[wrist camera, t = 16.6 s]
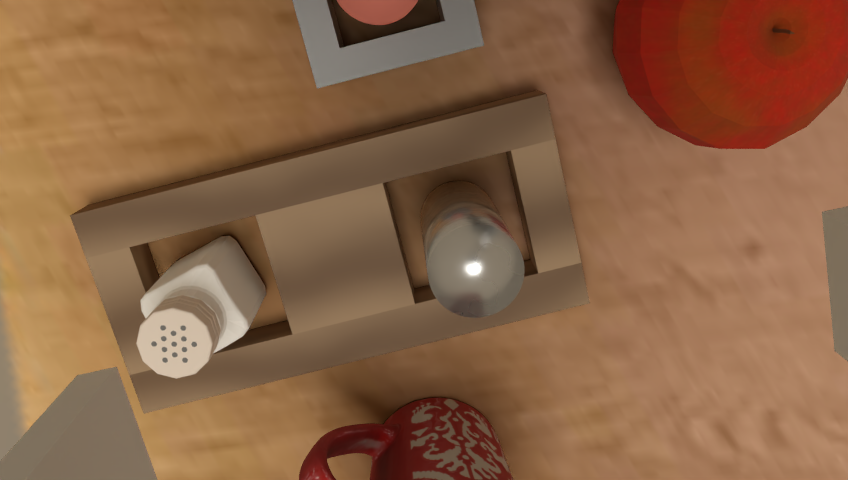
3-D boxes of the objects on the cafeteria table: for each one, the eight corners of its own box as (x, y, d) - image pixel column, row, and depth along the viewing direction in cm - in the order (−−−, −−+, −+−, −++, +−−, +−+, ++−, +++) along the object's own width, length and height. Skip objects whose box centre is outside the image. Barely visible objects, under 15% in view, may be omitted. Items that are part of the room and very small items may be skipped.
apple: (729, 160, 43) (846, 205, 32) (555, 88, 42) (614, 109, 31) (820, -27, 41) (981, -48, 30) (640, -109, 40) (738, -163, 28)
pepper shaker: (168, 264, 43) (107, 327, 34) (232, 228, 43) (188, 282, 34) (209, 325, 44) (160, 403, 35) (272, 291, 44) (239, 360, 35)
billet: (412, 191, 43) (417, 238, 33) (486, 172, 43) (512, 214, 33) (430, 261, 44) (440, 327, 34) (502, 243, 44) (533, 305, 34)
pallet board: (88, 204, 42) (70, 215, 40) (537, 90, 42) (546, 94, 39) (157, 392, 45) (143, 413, 43) (579, 288, 44) (589, 303, 42)
